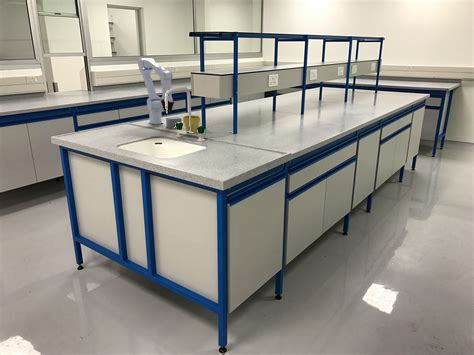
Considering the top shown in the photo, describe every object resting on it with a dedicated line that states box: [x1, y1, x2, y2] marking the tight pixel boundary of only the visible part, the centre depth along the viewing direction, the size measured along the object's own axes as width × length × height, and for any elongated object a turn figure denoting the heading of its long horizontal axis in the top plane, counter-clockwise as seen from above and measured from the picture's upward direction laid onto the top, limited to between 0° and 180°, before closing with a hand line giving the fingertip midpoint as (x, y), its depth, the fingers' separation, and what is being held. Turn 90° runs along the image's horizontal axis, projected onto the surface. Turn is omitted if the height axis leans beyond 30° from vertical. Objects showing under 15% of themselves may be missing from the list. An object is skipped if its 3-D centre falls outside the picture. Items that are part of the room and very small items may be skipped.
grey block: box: [165, 116, 183, 129], centre depth 246 cm, size 6×8×6 cm
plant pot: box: [182, 114, 201, 133], centre depth 231 cm, size 10×10×10 cm
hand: (167, 111), depth 245 cm, fingers open, 7 cm apart
